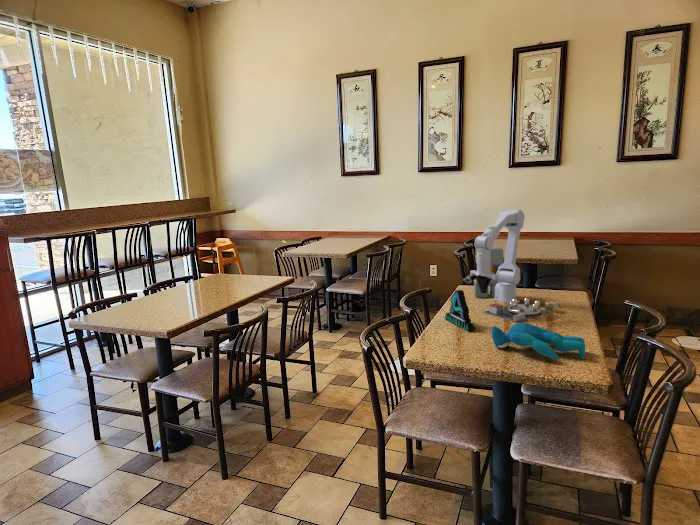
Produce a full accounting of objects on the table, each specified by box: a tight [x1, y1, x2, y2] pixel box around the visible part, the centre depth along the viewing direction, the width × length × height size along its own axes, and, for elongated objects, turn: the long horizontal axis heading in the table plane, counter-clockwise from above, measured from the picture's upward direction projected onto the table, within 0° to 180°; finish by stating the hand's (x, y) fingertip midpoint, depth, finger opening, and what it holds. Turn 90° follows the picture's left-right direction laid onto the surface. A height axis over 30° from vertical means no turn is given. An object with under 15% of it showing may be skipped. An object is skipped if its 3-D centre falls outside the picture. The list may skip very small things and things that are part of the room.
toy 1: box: [462, 246, 505, 299], centre depth 230 cm, size 26×9×30 cm, turn 84°
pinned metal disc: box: [508, 297, 543, 316], centre depth 201 cm, size 14×14×4 cm
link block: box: [544, 300, 560, 314], centre depth 202 cm, size 4×4×4 cm
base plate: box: [481, 305, 554, 324], centre depth 200 cm, size 19×23×3 cm
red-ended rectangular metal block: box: [489, 303, 504, 316], centre depth 199 cm, size 4×4×4 cm
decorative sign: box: [444, 289, 475, 333], centre depth 188 cm, size 19×2×15 cm, turn 18°
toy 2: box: [491, 322, 586, 361], centre depth 157 cm, size 19×10×30 cm
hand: (483, 292), depth 204 cm, fingers closed
